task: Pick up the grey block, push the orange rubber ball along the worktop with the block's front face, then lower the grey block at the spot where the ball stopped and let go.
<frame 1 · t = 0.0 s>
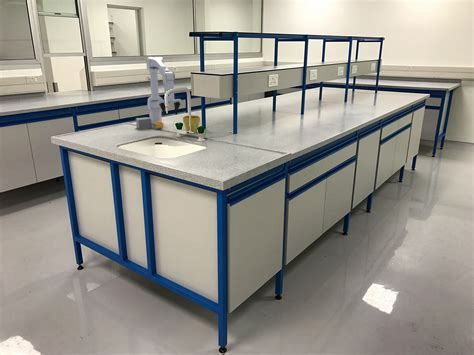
hand: (170, 114, 233), 10 cm above the table, tool pointing down, fingers open, 7 cm apart
ball: (159, 124, 242), on the table
grey block: (144, 127, 244), on the table
plant pot: (192, 132, 233), on the table
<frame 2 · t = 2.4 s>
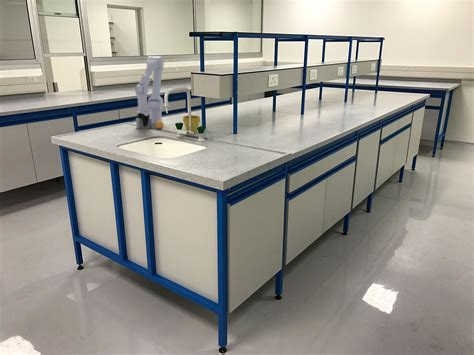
hand: (144, 125, 244), 2 cm above the table, tool pointing down, fingers closed on grey block, 6 cm apart
grey block: (144, 127, 244), on the table, touching gripper
everything else where it was.
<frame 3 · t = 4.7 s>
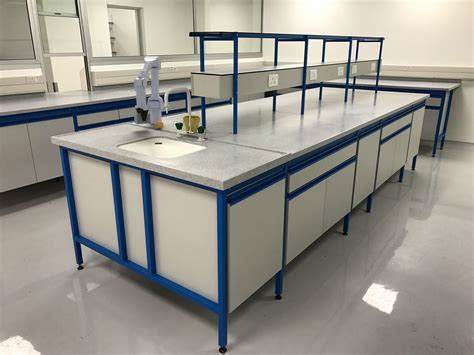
hand: (142, 120, 235), 6 cm above the table, tool pointing down, fingers closed on grey block, 6 cm apart
grey block: (142, 123, 236), point 5 cm above the table, touching gripper
everything else where it was.
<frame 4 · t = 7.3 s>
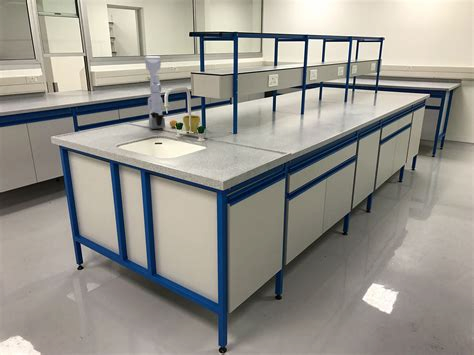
hand: (157, 124, 241), 3 cm above the table, tool pointing down, fingers closed on grey block, 6 cm apart
ball: (173, 123, 246), on the table
grey block: (157, 127, 241), point 1 cm above the table, touching gripper
everything else where it was.
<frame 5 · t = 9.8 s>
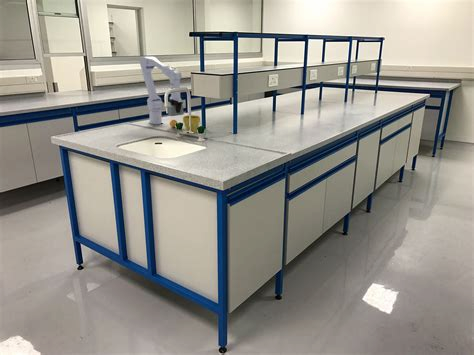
hand: (176, 111, 245), 10 cm above the table, tool pointing down, fingers closed on grey block, 6 cm apart
grey block: (176, 114, 245), point 8 cm above the table, touching gripper
everything else where it was.
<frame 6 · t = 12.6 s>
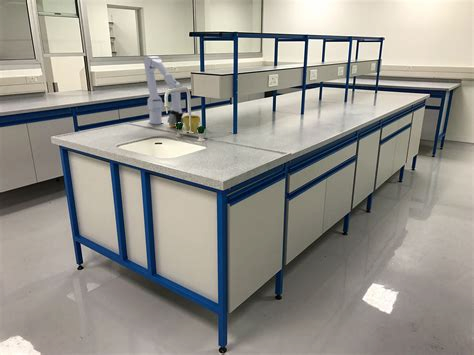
hand: (176, 122, 247), 3 cm above the table, tool pointing down, fingers closed on grey block, 6 cm apart
grey block: (174, 124, 247), point 2 cm above the table, tilted 22°, touching gripper
when the fingers open (2 cm above the table, at t = 13.4 s): grey block drops 1 cm, on the table.
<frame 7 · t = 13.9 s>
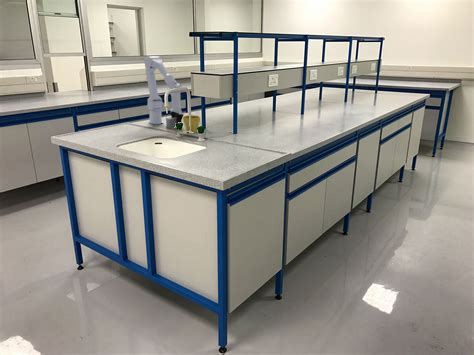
hand: (176, 123, 247), 2 cm above the table, tool pointing down, fingers open, 7 cm apart
grey block: (174, 127, 247), on the table
everything else where it was.
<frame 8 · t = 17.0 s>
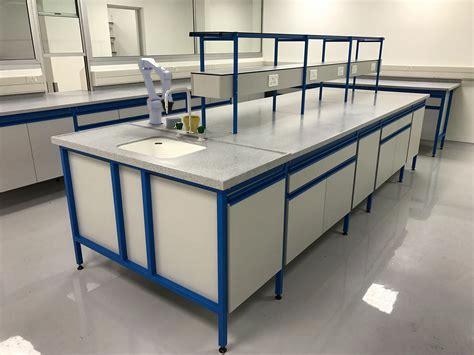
hand: (167, 111, 245), 10 cm above the table, tool pointing down, fingers open, 7 cm apart
nothing on the table moved.
at the end: ball 0.9 cm from the grey block (horizontally); grey block on the table; ball moved 9.1 cm from its start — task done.
